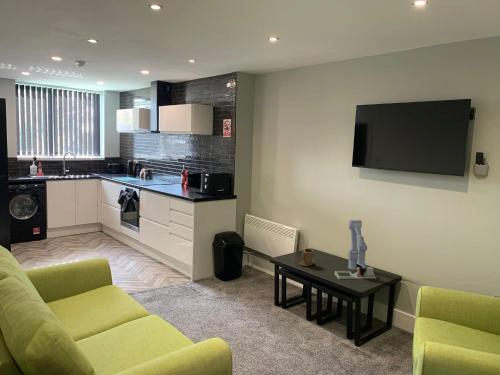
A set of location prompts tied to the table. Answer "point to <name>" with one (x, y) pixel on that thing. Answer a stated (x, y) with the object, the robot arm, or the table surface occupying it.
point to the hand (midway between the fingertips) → (360, 273)
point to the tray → (344, 276)
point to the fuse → (369, 271)
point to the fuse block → (363, 276)
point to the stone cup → (307, 257)
